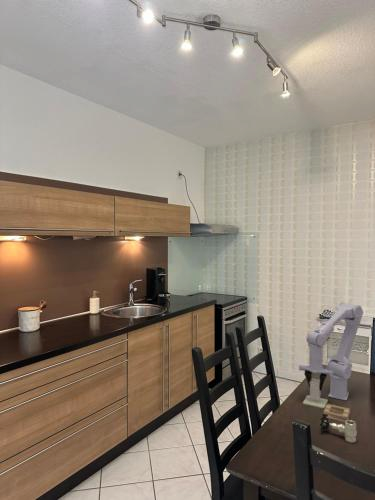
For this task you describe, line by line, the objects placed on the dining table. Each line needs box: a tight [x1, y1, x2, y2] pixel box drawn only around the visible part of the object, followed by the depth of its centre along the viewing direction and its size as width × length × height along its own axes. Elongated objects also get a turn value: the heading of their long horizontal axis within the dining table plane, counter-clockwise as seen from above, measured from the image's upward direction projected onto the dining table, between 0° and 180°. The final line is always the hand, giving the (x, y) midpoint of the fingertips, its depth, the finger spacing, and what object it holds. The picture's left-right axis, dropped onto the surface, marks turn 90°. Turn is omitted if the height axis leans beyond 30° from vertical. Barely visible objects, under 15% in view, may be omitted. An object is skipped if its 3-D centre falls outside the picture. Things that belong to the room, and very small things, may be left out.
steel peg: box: [309, 377, 322, 398], centre depth 157 cm, size 4×4×7 cm
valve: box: [319, 414, 358, 443], centre depth 130 cm, size 7×7×12 cm
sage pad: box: [302, 394, 329, 409], centre depth 158 cm, size 9×9×1 cm
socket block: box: [322, 403, 351, 423], centre depth 146 cm, size 9×9×2 cm
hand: (315, 388), depth 158 cm, fingers closed on steel peg, 4 cm apart
